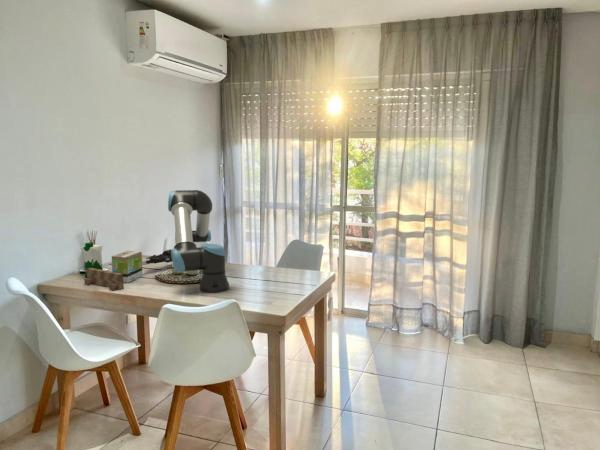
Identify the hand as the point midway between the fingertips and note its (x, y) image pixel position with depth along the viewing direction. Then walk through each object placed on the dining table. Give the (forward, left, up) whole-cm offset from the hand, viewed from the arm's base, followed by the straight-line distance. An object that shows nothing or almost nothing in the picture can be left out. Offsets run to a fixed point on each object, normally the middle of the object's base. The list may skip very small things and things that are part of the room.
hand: (140, 263), depth 273 cm
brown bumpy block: (0, +26, -7) cm, 27 cm away
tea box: (0, +10, -7) cm, 12 cm away
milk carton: (+21, +16, -7) cm, 27 cm away
